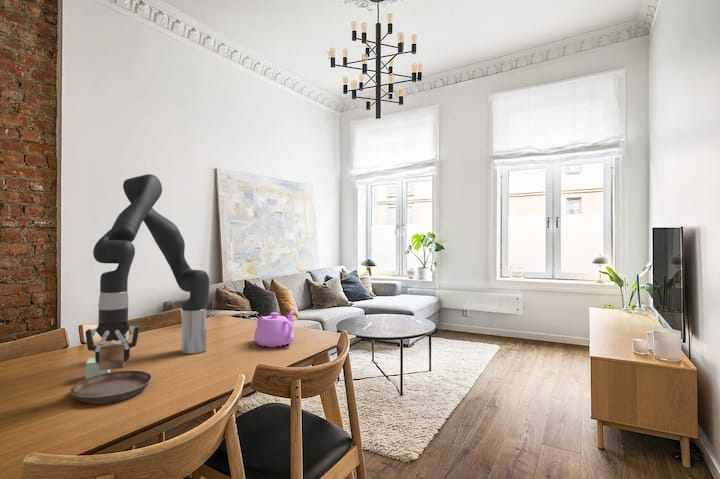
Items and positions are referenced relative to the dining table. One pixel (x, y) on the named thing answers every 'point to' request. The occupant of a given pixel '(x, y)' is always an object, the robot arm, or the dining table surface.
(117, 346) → the walnut block
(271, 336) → the teapot
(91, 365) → the green block
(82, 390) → the plant saucer
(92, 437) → the dining table surface
